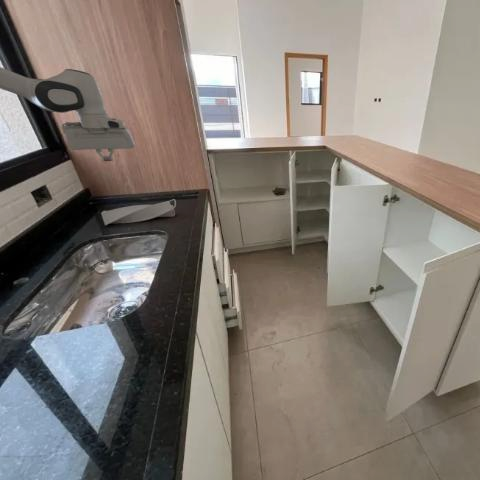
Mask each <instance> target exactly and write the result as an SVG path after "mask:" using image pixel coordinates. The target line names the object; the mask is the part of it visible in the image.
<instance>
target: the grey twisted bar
mask: <svg viewBox="0 0 480 480" xmlns="http://www.w3.org/2000/svg"><path fill="white" fill-rule="evenodd" d="M172 201H174V205H173V204H171V202H172ZM176 207H177V201H176V199H175V198H172V199H169V200H167V201H162V202H158V203H155V204H137V205H129V206H124V207H118V208H114V209H110V210H103V211H102V212H100V215H101V217H102V220H103V224H104V226H107V225H109V224H130V223H138V222H144V221H148V220H151V219H155V218H162V217H163V218H167V217H169V218H170V217H171V218H172V217H175V215H176V211H175V208H176Z"/></svg>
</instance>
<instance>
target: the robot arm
mask: <svg viewBox="0 0 480 480" xmlns="http://www.w3.org/2000/svg"><path fill="white" fill-rule="evenodd" d="M0 89H1V90H3V91H5V92H9V93H12V94H15V95H17V96H20V97H22V98H24V99H26V100H28V101H29V102H30V103H32V104H34V105H36V106H37V107H38V108H40V109H41V110H44V111H47V112H51V113H59V114H64V113H68V112H73V111H75V112H76V115H77V117H78V120H79V121H76V122H75V121H73V122H70V121H69V122H68V121H67V122H64V123H63V124H61V130H62V132H63V134H64V135H65V139H66V143H67V146H68V148H69V149H70V150H72V151H82V150H83V151H84V150H85V151H87V150H95V151H96V152H95V153H97V154H98V155H99V156H100V157H101V158H102V159H101V160H102V161H103V162H113V161H114V158H113V156H114V155H113V154H114V152H115V150H121V149H122V150H124V149H128V150H129V149H133V148H135V146H136V143H135V140H134V137H133V135H132V133H131V131H130V129H128V128H126V126H127V125H126V122H125V121H124V120H121V119H117V118H115V117H110V116H109V113H108V111H107V109H106V108H105V107H106V106H105V99H104V97H103V93H102V91H101V89H100V86H99V84H98V81H97V80H96V78H95V77H94V76H93V75H92V74H90V73H88V72H86V71H82V70H77V69H72V68H66V69H64V70H63V71H62V72H60V73H58V74H56V75H53V76H51V77H48V78H44V79H43V78H32V77H27V76H24V75H22V74H19V73H17V72H14V71H12V70H9V69H6V68H4V67H1V66H0ZM103 150H107V152H108V153H109V154H108V155H105V154H104V153H103Z"/></svg>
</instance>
